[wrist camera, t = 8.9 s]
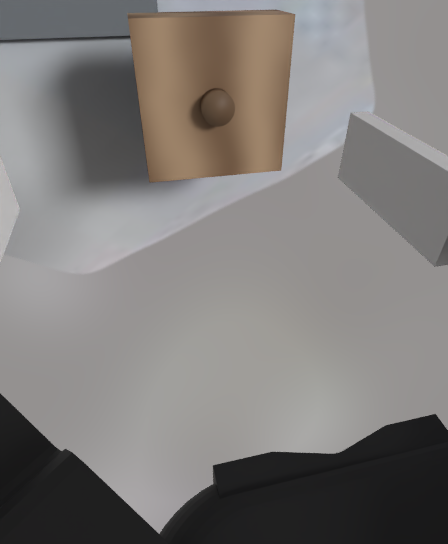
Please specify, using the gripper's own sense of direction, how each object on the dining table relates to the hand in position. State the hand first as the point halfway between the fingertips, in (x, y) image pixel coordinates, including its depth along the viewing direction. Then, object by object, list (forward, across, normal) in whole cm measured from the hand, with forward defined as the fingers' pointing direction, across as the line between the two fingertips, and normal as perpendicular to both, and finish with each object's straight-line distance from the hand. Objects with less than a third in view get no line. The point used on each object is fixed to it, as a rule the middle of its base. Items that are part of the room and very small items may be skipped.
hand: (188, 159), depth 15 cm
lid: (+19, +4, -2) cm, 20 cm away
